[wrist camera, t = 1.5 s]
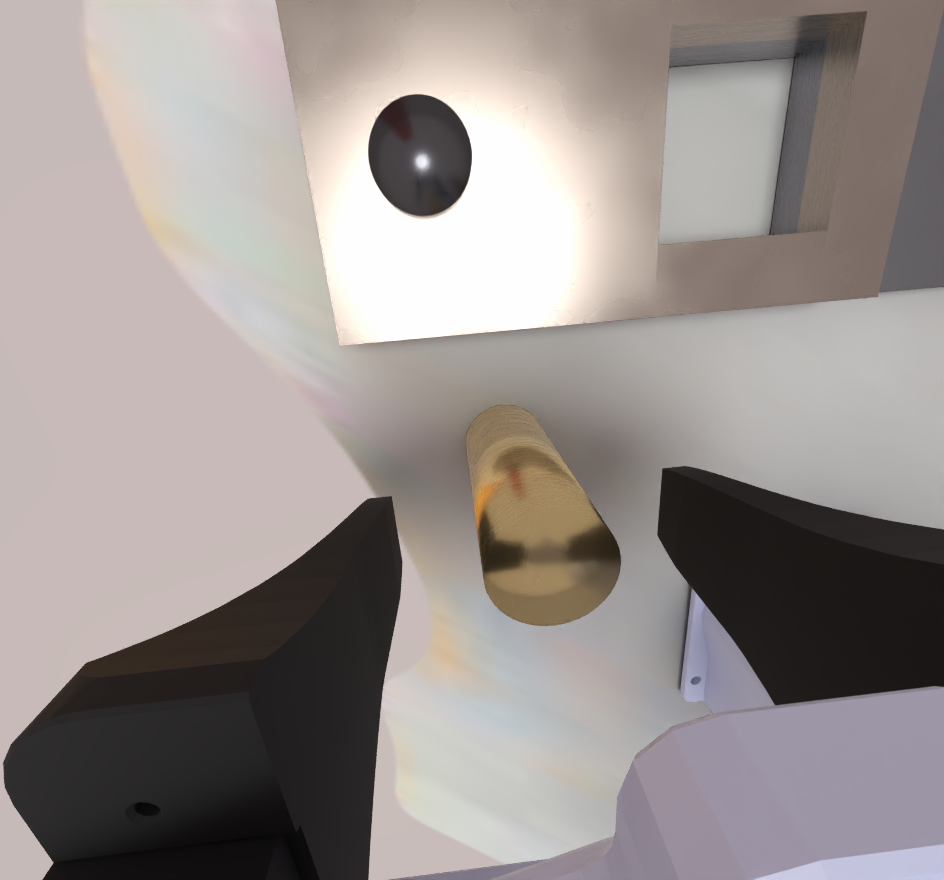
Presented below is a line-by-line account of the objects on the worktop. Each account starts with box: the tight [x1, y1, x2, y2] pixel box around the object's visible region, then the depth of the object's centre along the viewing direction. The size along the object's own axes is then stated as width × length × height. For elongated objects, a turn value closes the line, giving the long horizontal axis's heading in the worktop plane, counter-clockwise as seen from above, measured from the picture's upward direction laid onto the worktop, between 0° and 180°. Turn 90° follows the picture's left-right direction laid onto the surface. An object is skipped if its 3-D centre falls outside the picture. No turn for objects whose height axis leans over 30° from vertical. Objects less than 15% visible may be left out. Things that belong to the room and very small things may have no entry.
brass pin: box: [466, 405, 621, 626], centre depth 13 cm, size 3×3×8 cm
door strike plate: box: [276, 0, 944, 346], centre depth 13 cm, size 24×9×3 cm, turn 95°
